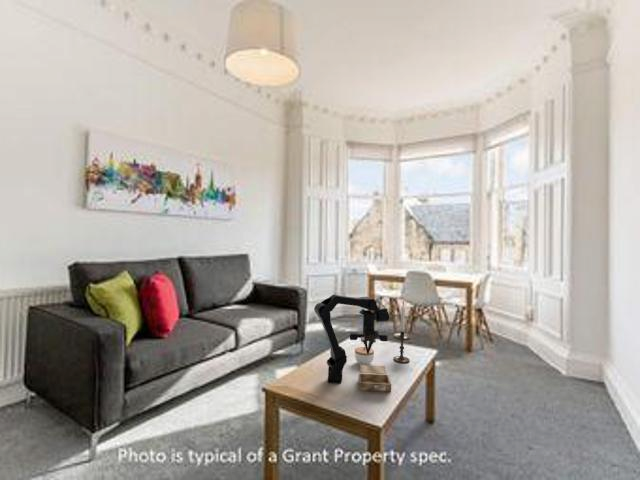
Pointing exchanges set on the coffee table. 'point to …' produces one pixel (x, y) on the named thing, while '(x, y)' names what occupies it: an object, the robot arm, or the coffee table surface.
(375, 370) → the far flap
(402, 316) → the candlestick
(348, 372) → the coffee table surface
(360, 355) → the lidded jar
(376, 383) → the near flap
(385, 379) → the carton
